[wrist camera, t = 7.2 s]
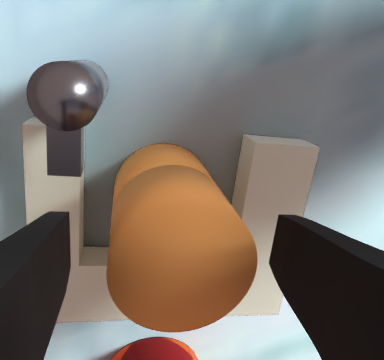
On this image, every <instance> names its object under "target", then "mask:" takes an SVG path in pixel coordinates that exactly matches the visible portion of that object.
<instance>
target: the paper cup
mask: <svg viewBox="0 0 384 360" xmlns="http://www.w3.org/2000/svg"><path fill="white" fill-rule="evenodd" d="M111 360H198V359H197V357H196V355H195V353H194V352H193V350H192V349H191V348H190V347H189V346H188V345H186V344H185V343H183V342H181V341H179V340H176V339H173V338H168V337H150V338H145V339H141V340H138V341H135V342H133V343H131V344H129V345H127V346H125V347H124V348H122V349H121V350H119V351H118V352H117V353H116V354H115V355H114V356H113V357H112V359H111Z"/></svg>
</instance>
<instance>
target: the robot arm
mask: <svg viewBox="0 0 384 360" xmlns="http://www.w3.org/2000/svg"><path fill="white" fill-rule="evenodd" d="M269 265H270V268H271V270H272V273H273V275H274V278H275V280H276V282H277V284H278V286H279V288H280V290H281V292H282V293H283V295H284V297H285V298H286V300H287V302H288V303H289V305H290V306H291V308H292V310H293V311H294V313H295V314H296V316H297V318H298V319H299V321H300V322H301V324H302V326H303V327H304V329H305V331H306V332H307V334H308V335H309V337H310V339H311V340H312V342H313V344H314V346H315V347H316V349H317V351H318V353H319V355H320V357H321V359H322V360H384V251H382V250H380V249H377V248H375V247H372V246H370V245H367V244H365V243H362V242H360V241H357V240H355V239H353V238H350V237H348V236H346V235H343V234H341V233H339V232H337V231H334V230H332V229H330V228H328V227H325V226H323V225H321V224H319V223H316V222H314V221H311V220H309V219H306V218H304V217H301V216H297V215H285V214H278V219H277V224H276V229H275V234H274V239H273V244H272V249H271V254H270V259H269ZM70 268H71V253H70V216H69V212H58V211H49V212H47V213H45V214H43V215H42V216H40V217H39V218H37V219H36V220H34V221H33V222H31V223H29V224H28V225H26V226H25V227H23V228H22V229H20V230H19V231H17V232H15V233H14V234H12V235H11V236H9V237H7V238H5V239H4V240H2V241H0V360H43V359H44V356H45V353H46V350H47V347H48V344H49V341H50V338H51V335H52V333H53V330H54V327H55V324H56V321H57V318H58V315H59V312H60V309H61V306H62V303H63V300H64V297H65V294H66V289H67V284H68V279H69V274H70Z"/></svg>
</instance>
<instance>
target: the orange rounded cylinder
mask: <svg viewBox="0 0 384 360" xmlns="http://www.w3.org/2000/svg"><path fill="white" fill-rule="evenodd" d="M257 261H258V260H257V249H256V244H255V242H254V239H253V237H252V235H251V233H250V231H249V229H248V228H247V227H246V225H245V224H244V222H243V221H242V220H241V218H240V217H239V215H238V214H237V212H236V211H235V210H234V208H233V207H232V205H231V204H230V203H229V201H228V200H227V198H226V197H225V196H224V194H223V193H222V191H221V190H220V188H219V187H218V186H217V184H216V183H215V181H214V180H213V179H212V177H211V176H210V174H209V173H208V172H207V170H206V169H205V167H204V166H203V164H202V163H201V162H200V160H199V159H198V158H197V157H196V156H195V155H194V154H193V153H191V152H190V151H189V150H187V149H185V148H183V147H180V146H178V145H174V144H167V143H159V144H152V145H149V146H145V147H143V148H141V149H139V150H137V151H135V152H134V153H133V154H131V155H130V156H129V157H128V158H127V159H126V160H125V161H124V163H123V164H122V165H121V167H120V169H119V171H118V173H117V176H116V179H115V185H114V195H113V206H112V217H111V227H110V238H109V249H108V259H107V271H106V279H107V286H108V290H109V293H110V296H111V298H112V300H113V302H114V303H115V305H116V306H117V308H118V309H119V310H120V311H121V312H122V313H123V314H124V315H125V316H126V317H127V318H129V319H130V320H132V321H133V322H135V323H136V324H139V325H141V326H143V327H145V328H149V329H152V330H156V331H161V332H184V331H190V330H195V329H198V328H201V327H204V326H207V325H209V324H211V323H214V322H216V321H217V320H219V319H221V318H223V317H224V316H225V315H227V314H228V313H229V312H231V311H232V310H233V309H234V308H235V307H236V306H237V305H238V304H239V303H240V302H241V301H242V300H243V298H244V297H245V295H246V294H247V293H248V291H249V289H250V287H251V285H252V283H253V280H254V278H255V274H256V270H257Z"/></svg>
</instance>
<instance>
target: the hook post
mask: <svg viewBox="0 0 384 360" xmlns="http://www.w3.org/2000/svg"><path fill="white" fill-rule="evenodd" d="M107 92H108V79H107V76H106V74H105V72H104V71H103V69H102V68H101V67H100V66H98V65H97V64H95V63H93V62H91V61H87V60H74V61H57V62H50V63H47V64H44V65H43V66H41V67H39V68H38V69H37V70H36V71H35V72H34V73H33V74H32V76H31V78H30V80H29V82H28V86H27V100H28V104H29V106H30V108H31V110H32V112H33V114H34V115H35V116H36V117H37V118H38V120H40V121H41V122H42V123H43V124H45V125H46V142H47V175H49V176H69V177H81V175H82V172H83V170H84V126H86V125H87V124H89V123H90V122H91V121H92V119H93V118H94V116H95V115H96V113H97V111H98V109H99V107H100V106H101V104H102V102H103V100H104V98H105V96H106V95H107Z"/></svg>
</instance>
